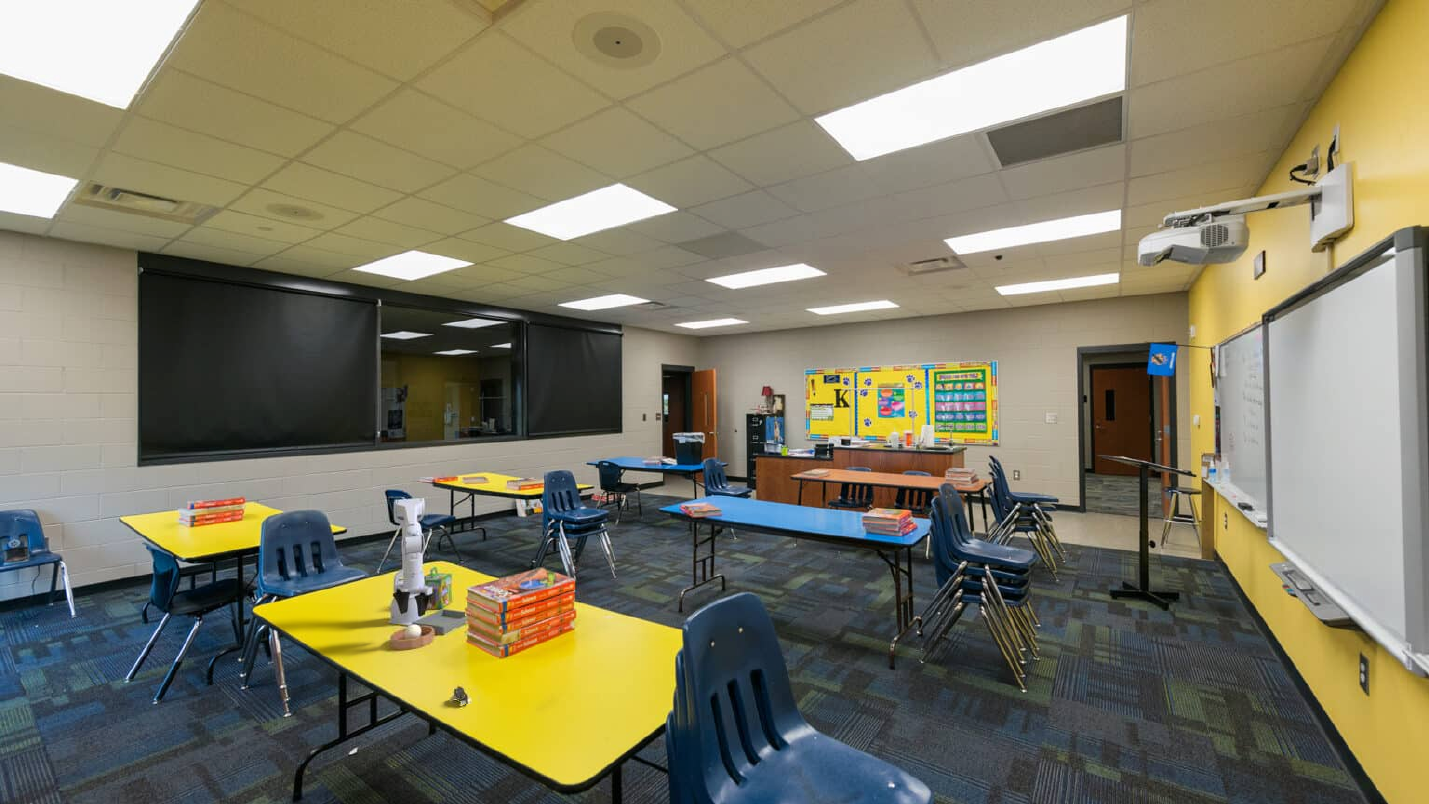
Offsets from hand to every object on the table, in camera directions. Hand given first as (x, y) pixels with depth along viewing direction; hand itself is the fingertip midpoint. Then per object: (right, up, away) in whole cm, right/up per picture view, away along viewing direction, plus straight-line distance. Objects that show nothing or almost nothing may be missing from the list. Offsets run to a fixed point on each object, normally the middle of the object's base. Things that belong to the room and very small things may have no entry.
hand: (412, 614), depth 186 cm
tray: (+3, -9, +15) cm, 18 cm away
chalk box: (-10, -10, +35) cm, 38 cm away
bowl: (0, -9, 0) cm, 9 cm away
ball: (0, -6, 0) cm, 6 cm away
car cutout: (+37, -9, -42) cm, 56 cm away
